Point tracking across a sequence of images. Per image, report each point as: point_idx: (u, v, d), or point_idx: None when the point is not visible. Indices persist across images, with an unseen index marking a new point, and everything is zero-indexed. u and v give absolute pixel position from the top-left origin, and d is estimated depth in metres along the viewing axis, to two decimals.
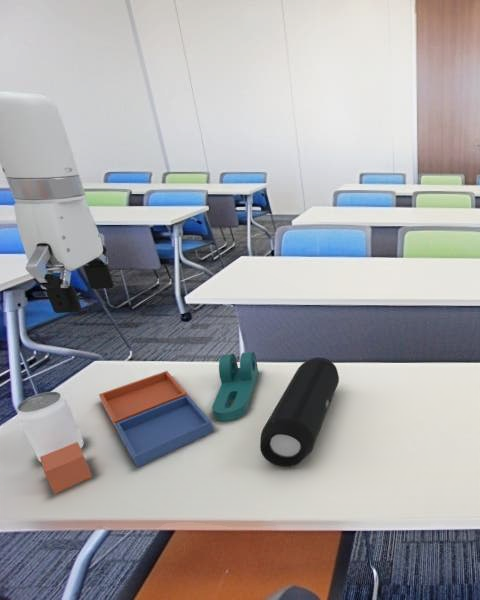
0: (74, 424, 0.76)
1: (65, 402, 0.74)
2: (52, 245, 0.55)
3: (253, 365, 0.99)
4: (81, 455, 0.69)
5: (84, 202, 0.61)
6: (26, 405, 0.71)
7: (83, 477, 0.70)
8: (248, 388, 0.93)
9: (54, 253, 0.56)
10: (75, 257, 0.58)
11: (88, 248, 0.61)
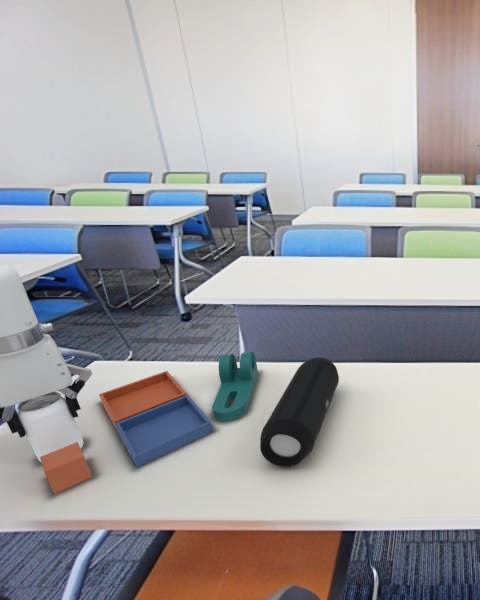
0: (74, 424, 0.76)
1: (65, 402, 0.74)
2: None
3: (253, 365, 0.99)
4: (81, 455, 0.69)
5: (43, 349, 0.68)
6: (26, 404, 0.71)
7: (83, 477, 0.70)
8: (248, 388, 0.93)
9: None
10: (7, 398, 0.67)
11: (34, 387, 0.69)
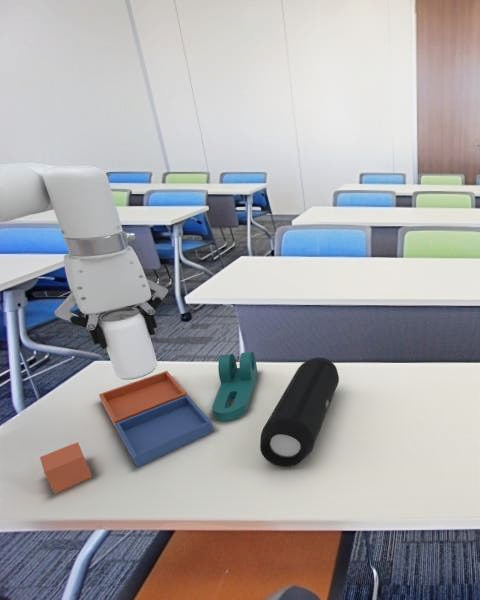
0: (151, 342, 0.75)
1: (143, 318, 0.73)
2: (73, 292, 0.65)
3: (252, 365, 0.99)
4: (81, 455, 0.69)
5: (127, 257, 0.68)
6: (107, 317, 0.70)
7: (83, 477, 0.70)
8: (248, 388, 0.93)
9: None
10: (93, 304, 0.66)
11: (118, 297, 0.68)
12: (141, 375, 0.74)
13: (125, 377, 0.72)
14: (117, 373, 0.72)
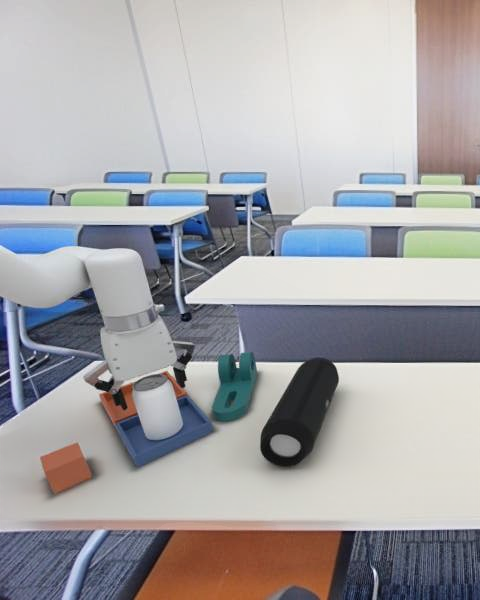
0: (177, 404, 0.81)
1: (171, 383, 0.79)
2: (108, 362, 0.70)
3: (252, 365, 0.99)
4: (81, 455, 0.69)
5: (157, 328, 0.74)
6: (139, 385, 0.77)
7: (83, 477, 0.70)
8: (247, 388, 0.93)
9: None
10: (126, 372, 0.72)
11: (148, 364, 0.74)
12: (169, 436, 0.80)
13: (154, 439, 0.79)
14: (147, 435, 0.79)
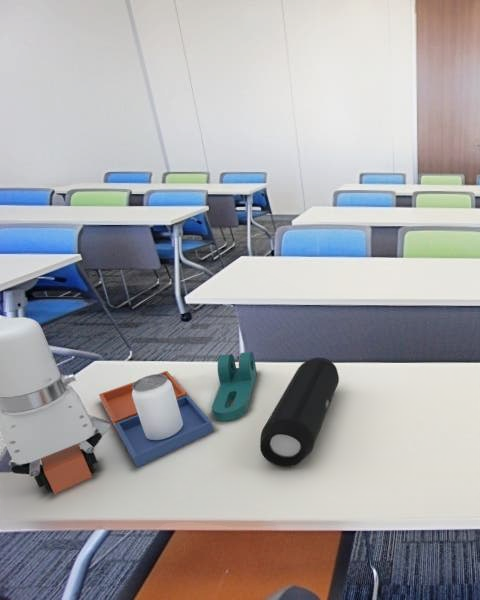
0: (177, 404, 0.81)
1: (171, 383, 0.79)
2: (6, 445, 0.62)
3: (251, 365, 0.99)
4: (81, 455, 0.69)
5: (65, 402, 0.66)
6: (138, 385, 0.77)
7: (83, 477, 0.70)
8: (247, 388, 0.93)
9: None
10: (28, 454, 0.64)
11: (56, 442, 0.66)
12: (169, 436, 0.80)
13: (154, 439, 0.79)
14: (147, 435, 0.79)
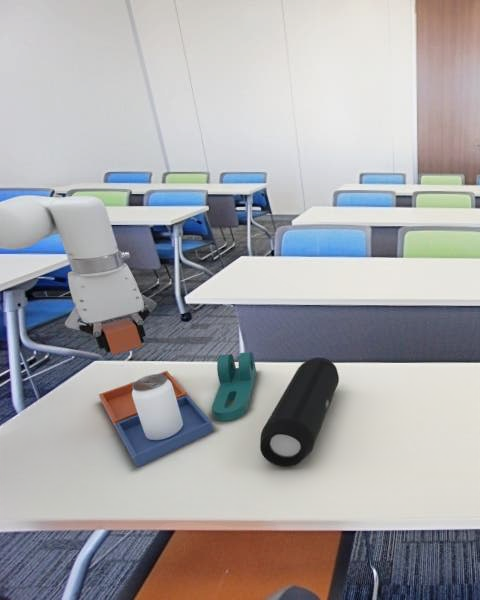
0: (177, 404, 0.81)
1: (171, 383, 0.79)
2: (76, 304, 0.75)
3: (251, 365, 0.99)
4: (134, 324, 0.82)
5: (122, 273, 0.78)
6: (138, 385, 0.77)
7: (135, 344, 0.83)
8: (247, 388, 0.93)
9: None
10: (93, 314, 0.76)
11: (115, 308, 0.79)
12: (169, 436, 0.80)
13: (154, 439, 0.79)
14: (147, 435, 0.79)
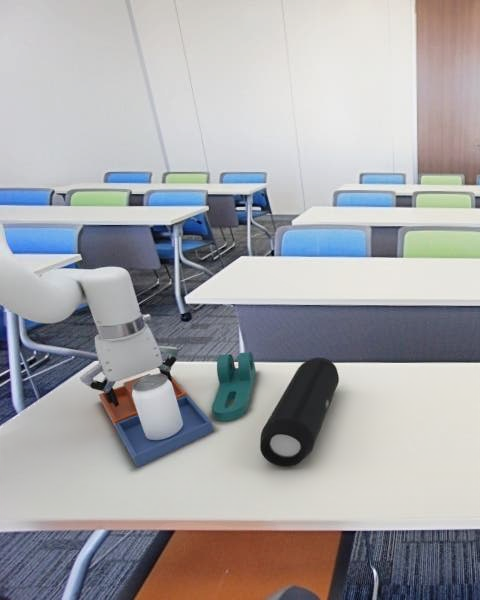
0: (177, 404, 0.81)
1: (171, 383, 0.79)
2: (101, 365, 0.81)
3: (251, 365, 0.99)
4: None
5: (144, 335, 0.84)
6: (138, 385, 0.77)
7: None
8: (247, 388, 0.93)
9: (104, 369, 0.82)
10: (117, 374, 0.83)
11: (136, 366, 0.85)
12: (169, 436, 0.80)
13: (154, 439, 0.79)
14: (147, 435, 0.79)
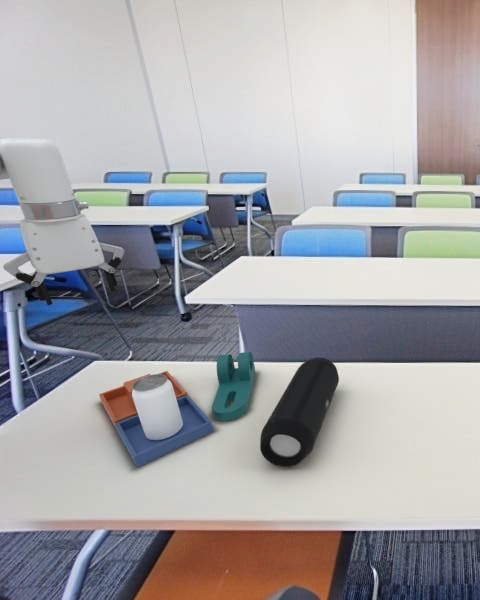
0: (177, 404, 0.81)
1: (171, 383, 0.79)
2: (28, 253, 0.72)
3: (250, 365, 0.99)
4: None
5: (79, 223, 0.75)
6: (138, 385, 0.77)
7: None
8: (247, 388, 0.93)
9: None
10: (48, 265, 0.73)
11: (71, 259, 0.75)
12: (169, 436, 0.80)
13: (154, 439, 0.79)
14: (147, 435, 0.79)
